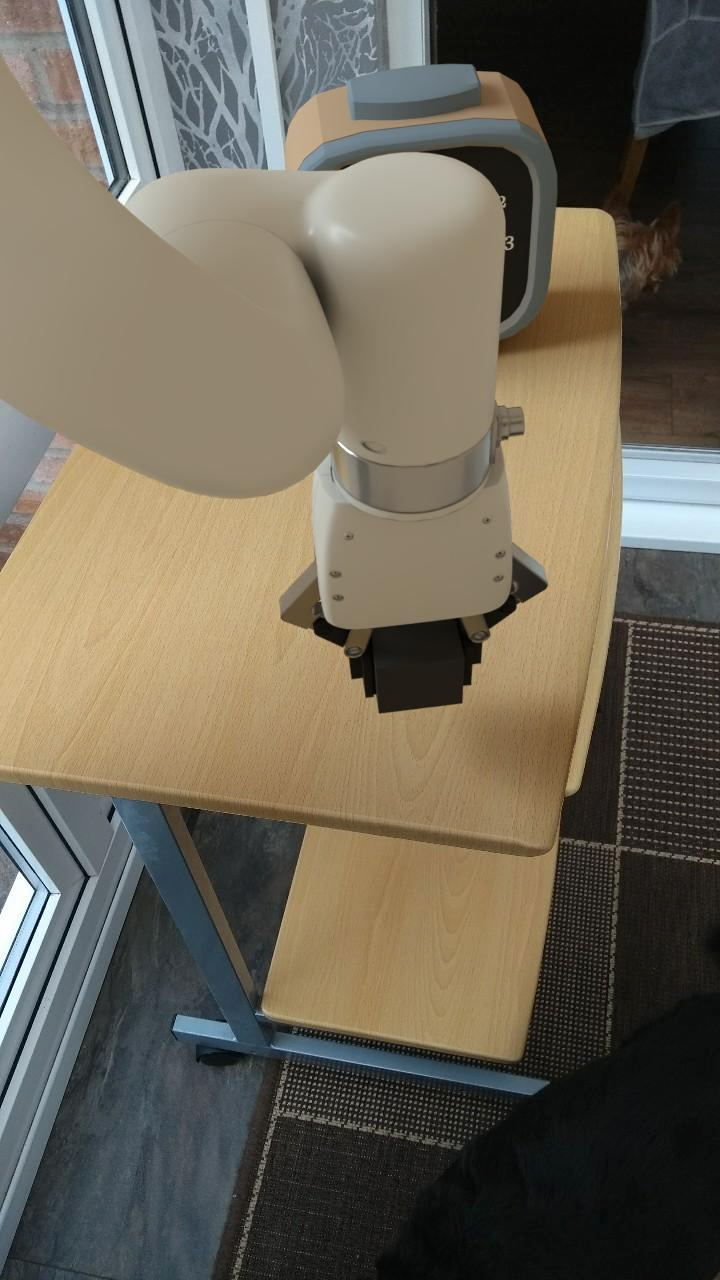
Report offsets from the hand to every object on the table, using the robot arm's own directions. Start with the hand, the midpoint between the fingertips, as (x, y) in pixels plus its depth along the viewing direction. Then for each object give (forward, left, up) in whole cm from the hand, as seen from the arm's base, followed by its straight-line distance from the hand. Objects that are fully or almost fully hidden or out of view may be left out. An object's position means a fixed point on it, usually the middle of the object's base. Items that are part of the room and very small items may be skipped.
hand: (414, 670), depth 61 cm
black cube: (0, 0, 0) cm, 0 cm away
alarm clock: (+7, +42, -7) cm, 43 cm away
